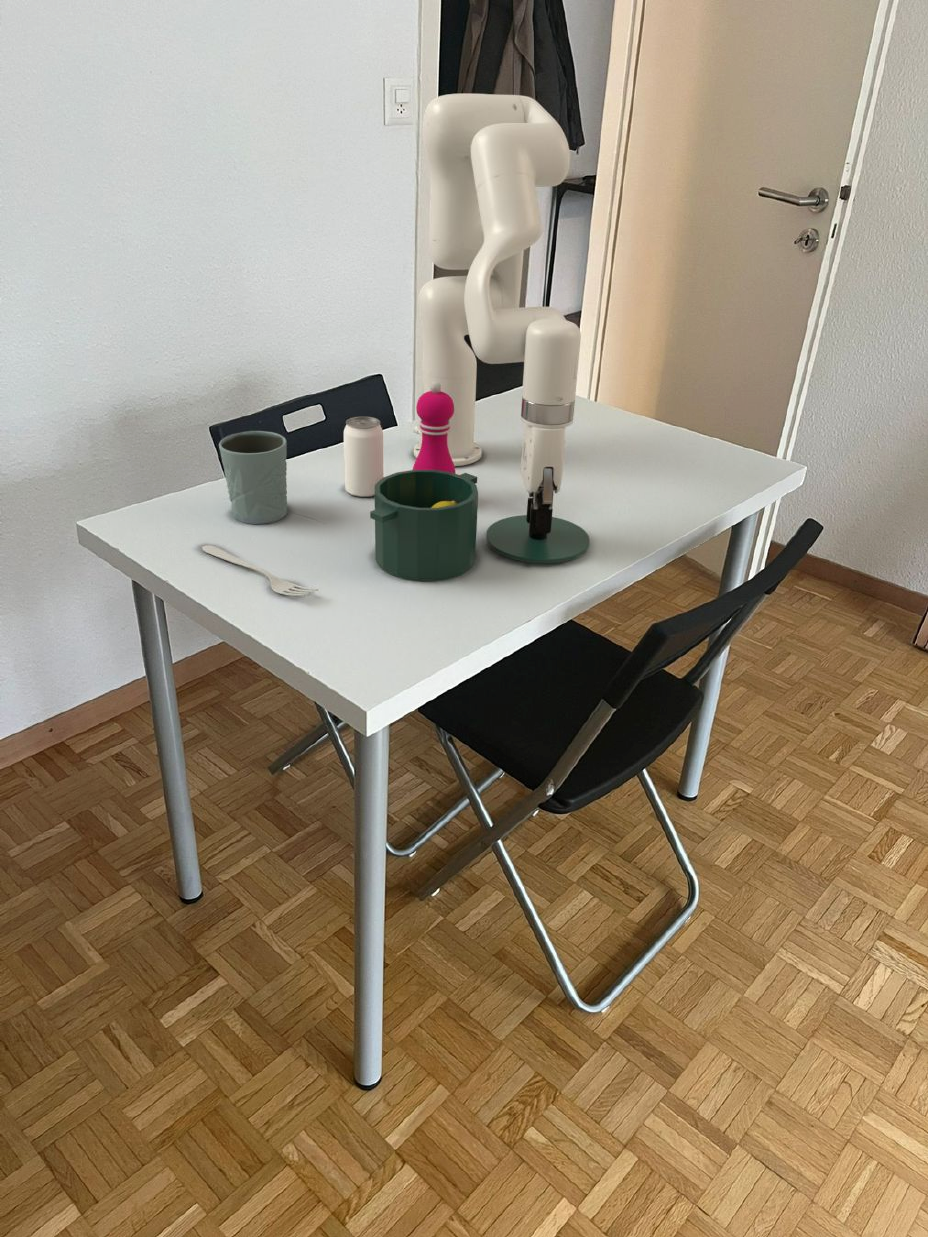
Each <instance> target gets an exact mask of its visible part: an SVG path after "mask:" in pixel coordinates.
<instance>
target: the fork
mask: <svg viewBox="0 0 928 1237" xmlns="http://www.w3.org/2000/svg"><path fill="white" fill-rule="evenodd" d="M201 549H202V551H203V552H204V553H207V554H209V555H211V556H214V557H217V558H220V559H222V560H224V561H227V562H230V563H233V564H236V565H239V566H240V567H241V566H242V567H245V568H247V569H250V570H253V571H256V572H260V573H261V574H263V575H265V576H266V577H267V578H268V579H269V581H270V586H271V589H272V591H273V592H275V593H277V594H280V595H285V596H293V597H294V596H295V597H306V595H311V593H315V592H318V591H319V588H313V587H306V586H301V585H298V584H296V583H293V582H290V581H287V580H283V579H281V578H278V577H277V576H276V575H274V574H272V573H271V572H269V571H268V570H266V569H264V568H261V567H259V566H257V565H254V564H252V563H249V562H248V561H245V560H243V559H241V558H239V557H237V556H235V555H233V554H231V553H229V552H227V551H225V550H223V549H221V548H219V547H218V546H214V545H209V544H208V545H207V544H206V545H204V546H202V547H201Z"/></svg>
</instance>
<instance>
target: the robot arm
mask: <svg viewBox="0 0 928 1237" xmlns="http://www.w3.org/2000/svg"><path fill="white" fill-rule="evenodd" d="M421 130H422V133H421V134H422V144H423V149H424V154H425V157H426V161H427V165H428V170H429V176H430V178H429V180H430V193H429V223H428V224H429V225H428V226H429V227H428V231H429V232H428V248H429V256H430V259H431V261H432V263H433V264H434V266H436V267H438V268H440V269H443V270H450V271H453V270H454V271H463V270H464V271H465V270H468V273H467V275H456V276H455V275H454V276H442V277H437V278H433V279H431V280H429V281H427V282H425V283H424V284H423V285H422V287H421V288H420V291H419V292H418V296H417V307H418V308H417V309H418V316H419V324H420V329H421V339H422V340H421V341H422V394H424V393H426V392H429V391H431V390H430V386H431V384H432V383H433V382H438V383H440V385H441V392H444V393H446V394H448V395H449V396H450V397H451V398H452V400H453V403H454V414H453V416H452V417H451V418H450V420H449V421H450V423H451V425H450V429H451V430H450V432H449V433H448V437H447V443H448V449H449V453H450V456H451V459H452V461H453V463H454V467H462V466H468V465H472V464H474V463H475V462H478V461H479V460H481V458H482V454H483V453H482V452H483V450H482V448H481V446H480V445H479V444H478V443H476V442H475V422H476V421H475V419H476V398H477V397H476V396H477V395H476V394H477V368H478V367H477V364H478V363H477V358H478V360H480V361H481V362H482V363H484V364H490V365H498V364H499V365H500V364H501V365H502V364H512V363H523V377H522V378H523V379H522V392H521V409H520V421H521V422H522V423H524V429H523V438H522V449H521V458H520V467H519V468H520V470H519V472H520V476H521V479H522V482H523V483H522V484H523V485H524V488H525V491H526V492H527V493H528V497H527V505H526V515H527V517H526V521H527V523H530V527H529V531H530V533H550V532H551V524H552V517H553V511H554V508H553V505H554V504H553V503H554V493H555V494H558V493H559V492H560V491H561V487H562V480H563V472H564V470H563V469H564V458H565V457H564V456H565V442H566V440H565V439H566V428H567V427H569V426H571V425H573V423H574V413H575V403H576V396H577V395H576V394H577V393H576V392H577V382H578V373H579V362H580V352H581V351H580V350H581V341H582V340H581V338H582V333H581V330H580V328H579V326H578V325H577V324H576V323H575V322H572V321H569V320H567V319H566V318H565V316H564V315H563V313H562V312H561V311H560V310H558V308H556V307H553V306H531V307H530V306H527V307H525V306H523V307H522V306H521V307H520V303H521V302H520V300H521V291H522V290H521V289H522V279H523V278H522V277H523V268H524V267H523V265H524V254H525V250H527V249H528V248H530V247H531V246H533V245H534V244H536V243H537V242H538V241H539V240H540V238H541V236H542V234H543V222H542V218H541V212H540V207H539V206H540V205H539V200H538V193H537V188H545V187H546V188H547V187H548V188H550V187H551V188H552V187H557V186H559V185H561V184H562V183H563V182H564V181H565V179H566V177H567V176H568V173H569V169H570V163H571V153H570V147H569V146H570V145H569V142H568V139H567V137H566V134H565V132H564V131H563V128H562V127H561V125H560V124H559V123H558V121H557V120H556V119H555V118H554V117H553V116H552V115H551V113H549V112H548V111H547V110H546V109H545V108H544V107H543V106H542V105H541V104H540V103H539V102H538V101H537V100H536V99H534V98H533V97H531V96H527V95H520V94H489V93H464V92H463V93H451V94H450V93H449V94H444V95H439V96H437V97H435V98H433V99H432V100H431V101H430V102H429V103H428V104H427V105H426V108H425V111H424V113H423V117H422V128H421ZM465 336H468V337H469V340H470V344H471V347H470V346H469V344H468V343H467V342H466V340H465ZM476 357H477V358H476ZM419 427H420V425H419V424H418V425H415V426H414V427H413V428H412V431H413V433H415V434H417V435H419V442H417V443H416V444H415V445H414V446H413V453H412V454H413V456H414V457H415V459H417V457H418V454H419V452H420V449H421V445H422V432H421V431H420V430H419ZM532 501H533V508H531V502H532ZM530 511H531V513H530Z"/></svg>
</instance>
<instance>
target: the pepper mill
mask: <svg viewBox="0 0 928 1237" xmlns="http://www.w3.org/2000/svg"><path fill="white" fill-rule="evenodd" d="M430 390H431V391H429V392H426V393H424V394H423V393H422V394H421V395H420V396H419V397H418V399H417V402H416V407H415V409H416V414H417V416H418V417H419V419H420V421H419V424H418V426H419V425H420V427H419V430H420V431H421V432H422V445H421V449H420V452H419V454H418V457H417V458H415V461H414V463H413V466H412V470H439V471H445V472H451V473H455V474H457V472H456V466H454V463H453V461H452V459H451V456H450V453H449V449H448V443H447V437H448V433H449V432H450V430H451V429H450V425H451V423H450V421H449V420H450V418H451V417H452V416H453V414H454V403H453V400H452V398H451V397H450V396H449V395H448V394H446V393H444V392H441V385H440V383H438V382H433V383H432V384H431V386H430Z"/></svg>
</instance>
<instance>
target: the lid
mask: <svg viewBox="0 0 928 1237" xmlns="http://www.w3.org/2000/svg"><path fill="white" fill-rule="evenodd" d="M531 508H533V501H532V502H531ZM530 513H531V511H530ZM526 517H527V514H521V515H514V516H513V515H512V516H509V517H505V518H502V519H499V520H496V521H495V522H494V523H492V524H491V525H489V527H488V528H487V530H486V533H485V540H486V543H487V545H488V546H489V547H490V548H491V549H492V550H493V551H495V552H496V553H498V554H499V555H502V556H504V557H507V558H510V559H513V560H516V561H517V560H518V561H521V562H527V563H535V564H555V563H562V562H566V561H570V560H574V559H577V558H578V557H581V556H582V555H584V554H585V553H586V552H587V551H588V549H589V547H590V536H589V534H588V532H587V531H586V530H584V529H583V528H582V527H581V526H579V525H578V524H575V523H574V522H572V521H569V520H566V519H562V518H558V517H556V516H555V517H554V516H552V524H551V532H550V533H530V531H529V527H530V523H527V521H526Z"/></svg>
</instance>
